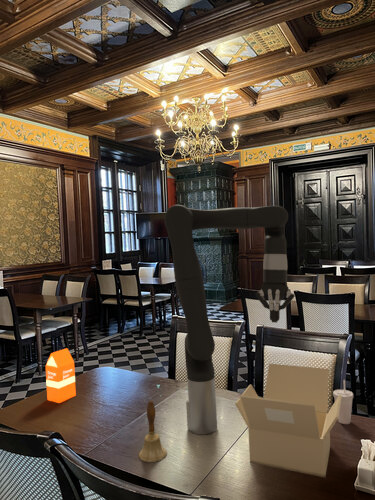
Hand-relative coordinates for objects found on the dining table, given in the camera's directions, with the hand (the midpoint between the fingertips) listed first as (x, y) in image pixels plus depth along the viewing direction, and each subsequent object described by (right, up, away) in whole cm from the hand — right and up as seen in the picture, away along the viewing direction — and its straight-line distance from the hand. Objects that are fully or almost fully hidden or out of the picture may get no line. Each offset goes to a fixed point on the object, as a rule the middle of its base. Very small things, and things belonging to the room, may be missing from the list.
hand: (274, 322), depth 123 cm
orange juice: (-81, -40, +38) cm, 98 cm away
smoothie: (+25, -35, +5) cm, 43 cm away
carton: (+4, -36, -8) cm, 37 cm away
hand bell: (-38, -38, -9) cm, 55 cm away
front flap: (-4, -20, -24) cm, 31 cm away
